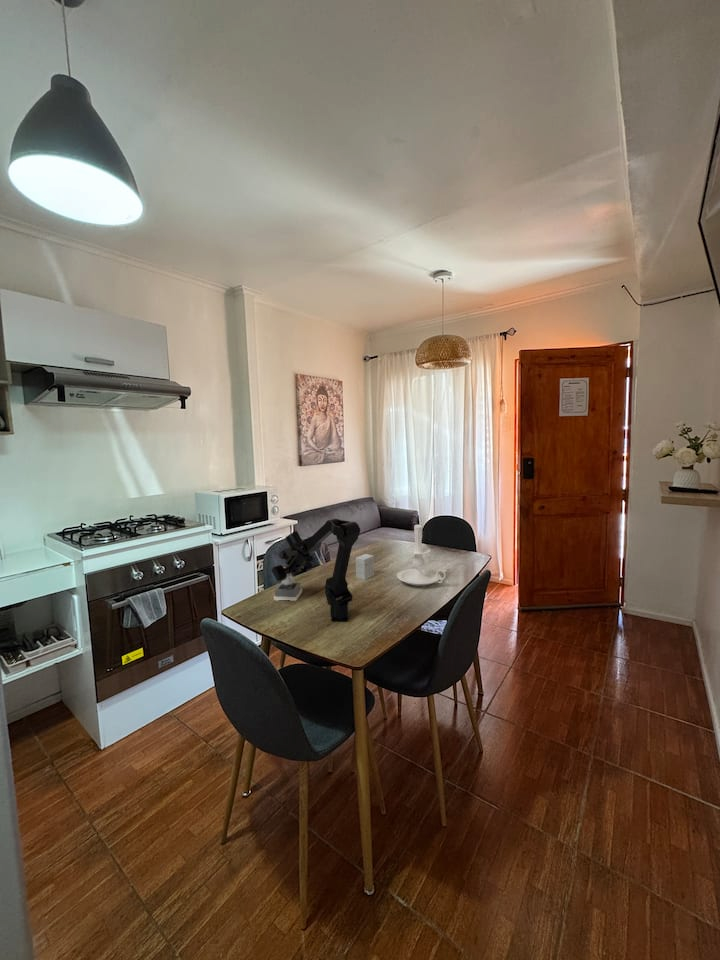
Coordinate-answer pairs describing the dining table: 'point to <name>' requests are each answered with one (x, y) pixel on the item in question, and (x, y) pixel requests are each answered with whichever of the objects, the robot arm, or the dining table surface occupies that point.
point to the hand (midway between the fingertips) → (285, 578)
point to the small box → (364, 566)
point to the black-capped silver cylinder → (287, 580)
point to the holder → (288, 592)
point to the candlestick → (419, 565)
